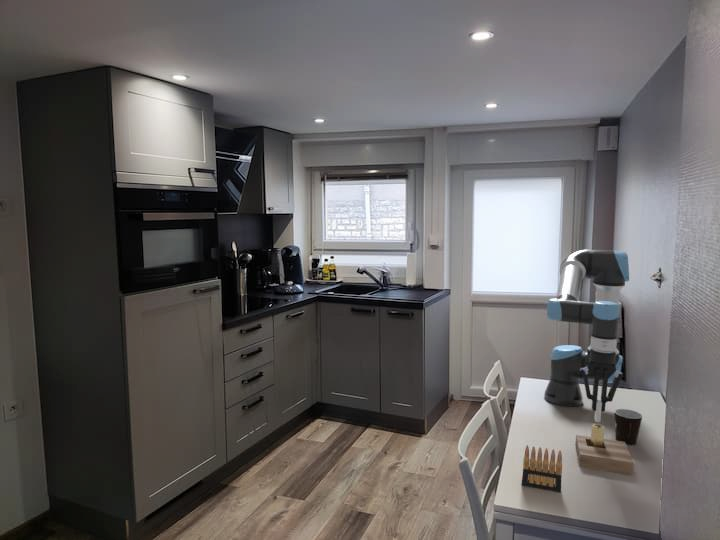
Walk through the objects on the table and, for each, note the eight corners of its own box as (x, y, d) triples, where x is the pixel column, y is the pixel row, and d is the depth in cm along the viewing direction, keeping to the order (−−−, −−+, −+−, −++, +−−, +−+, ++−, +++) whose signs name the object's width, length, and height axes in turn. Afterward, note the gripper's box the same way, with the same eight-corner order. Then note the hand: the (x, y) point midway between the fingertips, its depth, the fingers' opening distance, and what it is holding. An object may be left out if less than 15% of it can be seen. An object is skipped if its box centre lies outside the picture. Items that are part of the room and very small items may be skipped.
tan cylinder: (588, 451, 170) (591, 422, 169) (601, 453, 169) (603, 424, 167) (590, 457, 166) (592, 427, 165) (602, 459, 165) (605, 429, 164)
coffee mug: (617, 433, 185) (619, 407, 184) (643, 441, 179) (645, 414, 178) (605, 443, 177) (607, 415, 175) (632, 451, 170) (634, 423, 169)
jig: (575, 446, 174) (576, 434, 173) (624, 453, 169) (625, 442, 169) (579, 466, 160) (580, 454, 159) (632, 475, 155) (633, 462, 155)
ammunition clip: (521, 485, 148) (523, 445, 146) (521, 482, 149) (524, 443, 148) (561, 492, 144) (563, 452, 143) (560, 489, 146) (563, 449, 145)
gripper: (581, 350, 162) (576, 421, 165) (627, 355, 158) (621, 428, 161) (579, 344, 169) (574, 413, 172) (623, 349, 165) (617, 418, 168)
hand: (597, 420), depth 166 cm, fingers closed
